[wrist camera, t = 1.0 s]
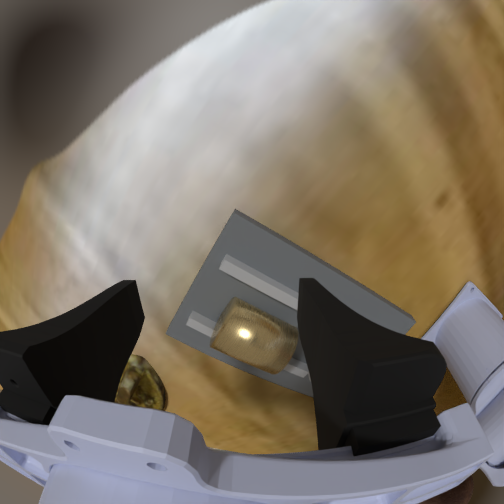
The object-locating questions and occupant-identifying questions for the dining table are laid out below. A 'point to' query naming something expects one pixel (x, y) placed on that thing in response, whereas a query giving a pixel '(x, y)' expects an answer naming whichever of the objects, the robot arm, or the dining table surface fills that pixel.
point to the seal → (140, 385)
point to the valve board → (269, 293)
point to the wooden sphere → (454, 494)
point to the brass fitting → (254, 337)
